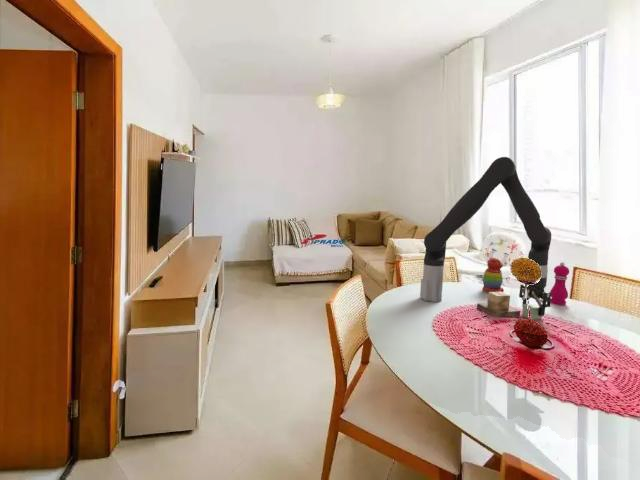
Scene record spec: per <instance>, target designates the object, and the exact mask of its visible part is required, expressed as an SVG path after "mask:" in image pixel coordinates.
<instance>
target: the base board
mask: <svg viewBox="0 0 640 480" xmlns="http://www.w3.org/2000/svg"><path fill="white" fill-rule="evenodd" d="M476 308H478V310H481V311H483V312H485V313H487V314H488V315H489V316H492V317H494V318H498V317H516V316H517V317H518V316H519V317H520V316H521V310H518V309H517V308H515V307H512V306H510V305H509V309H498V310H496V309H494V308H492V307H490V306H488V302H480V303H479V302H478V303H477V304H476Z"/></svg>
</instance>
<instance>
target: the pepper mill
mask: <svg viewBox="0 0 640 480" xmlns="http://www.w3.org/2000/svg"><path fill="white" fill-rule="evenodd" d="M565 265H566V264H565V262H564V261H563V262H562V261H561V262H560V263H559V264H558V265H556V266H555V267H554V269H553V272H554V274H555V275H554V281H555V282H554V285H553V286H552V288H551V289H550V291H549V292H550V293H551V303H550V304H552V305H555V304H556V306H566V305H565V304H567V299H568V298H569V292H568V290H567V288H566V281H567V280H568V276H569V274H570V269H569V267H567V266H565Z"/></svg>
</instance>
